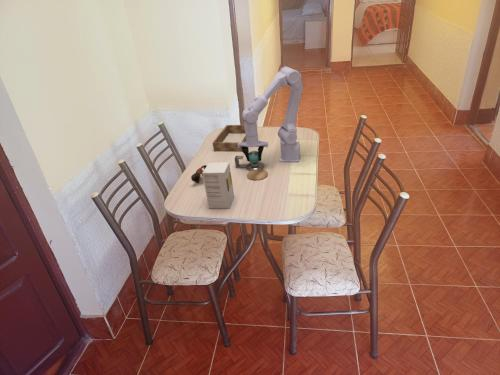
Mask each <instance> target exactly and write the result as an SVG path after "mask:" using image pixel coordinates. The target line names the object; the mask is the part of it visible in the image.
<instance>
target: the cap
mask: <svg viewBox="0 0 500 375" xmlns="http://www.w3.org/2000/svg"><path fill="white" fill-rule="evenodd" d="M248 155H249V161H248V162H249V163H258V162H260V161H259V153H258V150H253V151H249V153H248Z"/></svg>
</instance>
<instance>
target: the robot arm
mask: <svg viewBox="0 0 500 375" xmlns="http://www.w3.org/2000/svg"><path fill="white" fill-rule="evenodd" d="M302 76H303V75H302V74H301V73H300V72H299V71H298V70H297V69H293V68H292V67H289V66H282V67H281V68H280V69H279V71H278V72H277V73H276V75H275V76H274V78H273V80H272V81H271V82H270V84H268V86H267V88H266V89H265V90H264V91H263V93H262V94H260V95H258V96H255V97H254V98H253V99H254V100H253V101H252V102H251V104H250V105H248V106H247V108H245V109H244V110H242V114H241V118H242V119H243V123H244V124H243V125H245V133H244V135H245V136H246V142H242V141H241V142H240V143H238V144H237V145H238V148H240V147H242V153H243V154H244V156H245V158H246V162H249V155H248V153H249V152H250V151H249V150H250V149H249V148H257V151H258V153H259V162H262V155H263V151H264V148H268V147H269V141H262V140H259V134H258V125H257V121H258V119H259V115H260V114H261V113H262V112H263V111H264V109H265V108H266V107H267V106H268V104H269V103H268V102H269V99H271V97H272V96H274V94H275V93H276V92H277V91H278V90H279V89H280V88H281V87H285V86H288V87H289V89H290V91H289V97H288V101H287V106H286V111H285V116H284V120H283V122H282V123H281V125H280V127H279V128H278V131H277V136H278V138H280V141H279V143H280V145H279V146H280V158H279V160H278V161H279V162H283V163H284V162H286V163H287V162H288V163H289V162H291V163H298V162H299V161H300V157H301V147H300V146H301V145H300V143H301V142H300V141H297V139H298V135H297V133H298V132H297V131H298V130H297V126H296V121H297V118H298V113H299V108H300V104H301V99H302V95H303V90H304V85H303V81H302Z"/></svg>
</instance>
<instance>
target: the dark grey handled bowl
mask: <svg viewBox="0 0 500 375" xmlns="http://www.w3.org/2000/svg"><path fill="white" fill-rule="evenodd" d="M244 156H245V155H235V157H234V164H235V165H234V166H235V169H246V171H248V172H249V171H251V170H255V169H256V170H259V169H263V170H264V168H265V164H264V163H263V162H262V161H259V162H258V163H250V162H249V163H247V164H245V163H244V164H243V163H240V161H239V160H244V158H245V157H244Z"/></svg>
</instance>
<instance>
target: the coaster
mask: <svg viewBox="0 0 500 375" xmlns="http://www.w3.org/2000/svg"><path fill="white" fill-rule="evenodd" d="M268 172H269V171H268V170H266V169H264V168H263V169H259V170H256V169H255V170H251V171H248V172H247V173H246V178H247V179H249V180H250V181H254V182H256V181H257V180H258V181H262V180H265V179H266V178H268V176H269V173H268Z"/></svg>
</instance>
